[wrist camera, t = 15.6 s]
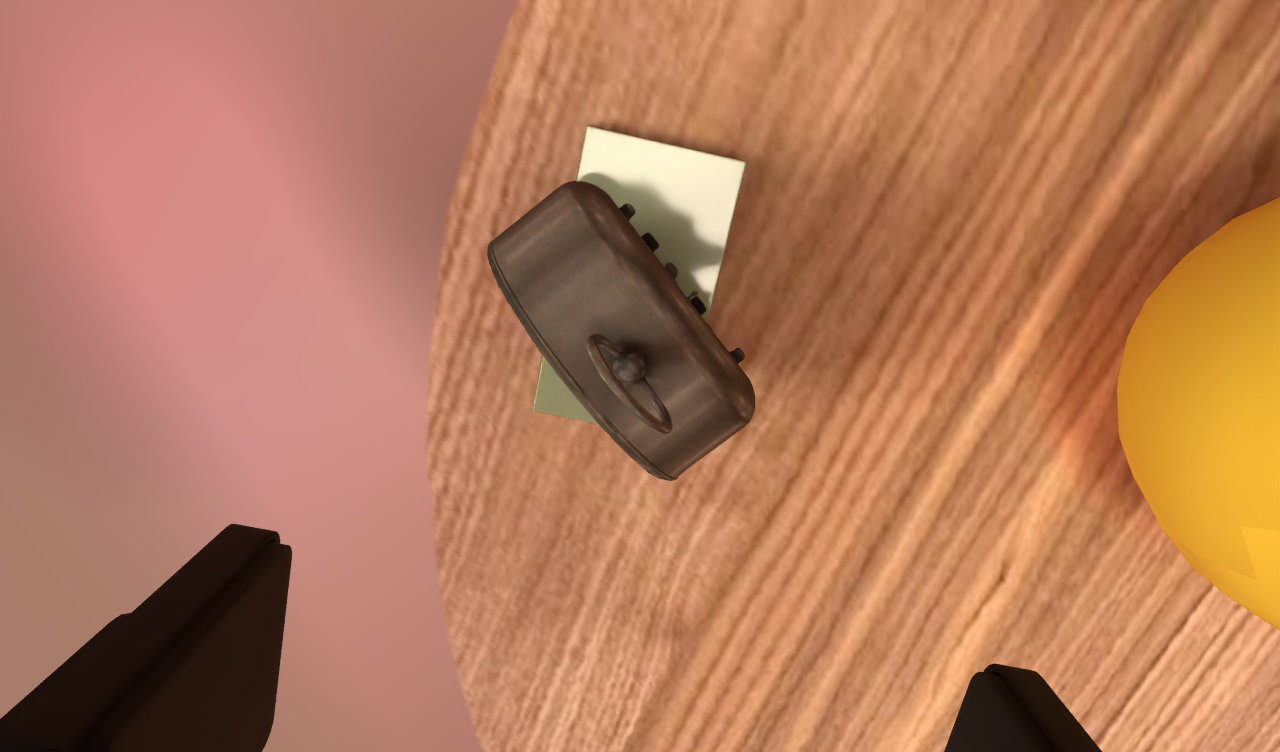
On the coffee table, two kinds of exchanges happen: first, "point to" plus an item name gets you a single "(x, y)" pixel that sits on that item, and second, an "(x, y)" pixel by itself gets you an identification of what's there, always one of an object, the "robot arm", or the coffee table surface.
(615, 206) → the alarm clock
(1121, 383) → the vase
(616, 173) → the green rectangular slab
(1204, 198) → the coffee table surface
